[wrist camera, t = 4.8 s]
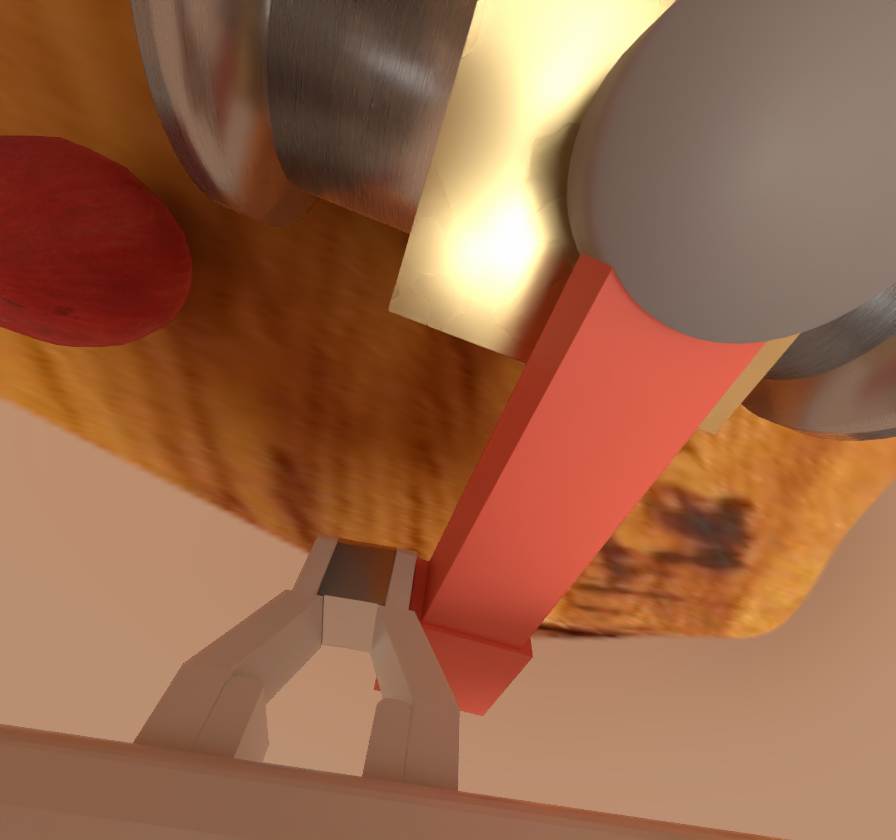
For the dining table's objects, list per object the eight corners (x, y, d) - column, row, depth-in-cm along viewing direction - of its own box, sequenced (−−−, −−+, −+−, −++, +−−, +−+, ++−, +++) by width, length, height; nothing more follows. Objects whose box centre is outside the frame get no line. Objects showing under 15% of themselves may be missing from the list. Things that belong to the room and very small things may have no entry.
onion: (155, 333, 17) (-63, 423, 10) (48, 192, 15) (-337, 183, 8) (264, 285, 16) (101, 350, 9) (169, 121, 13) (-162, 32, 6)
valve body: (296, 208, 14) (102, 215, 7) (343, -105, 11) (26, -868, 3) (714, 375, 17) (914, 519, 9) (875, 168, 13) (1447, 120, 5)
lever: (668, -82, 5) (786, -252, 3) (932, 63, 5) (1170, -8, 3) (371, 615, 12) (353, 689, 10) (496, 648, 12) (500, 724, 10)
